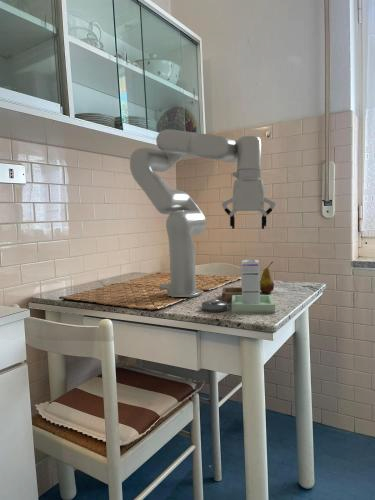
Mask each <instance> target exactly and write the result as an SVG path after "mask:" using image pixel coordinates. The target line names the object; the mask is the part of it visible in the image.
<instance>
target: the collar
mask: <svg viewBox="0 0 375 500" xmlns="http://www.w3.org/2000/svg"><path fill="white" fill-rule="evenodd" d="M232 295H242V286H241V287H239V286H238V287H236V286H235V287H234V286H232V287H228V286H227V287H225V286H224V287H222V292H221V301H225V302H227V303H232Z"/></svg>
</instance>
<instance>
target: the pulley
mask: <svg viewBox="0 0 375 500" xmlns="http://www.w3.org/2000/svg"><path fill="white" fill-rule="evenodd" d="M201 310H202V311H203V312H205V313H211V314H212V313H213V314H215V313H217V314H218V313H225V312H227V311H228V302H225V301H222V300H219V299H217V298H215V299H214V298H213V299H210V300H205V301H202V303H201Z"/></svg>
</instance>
